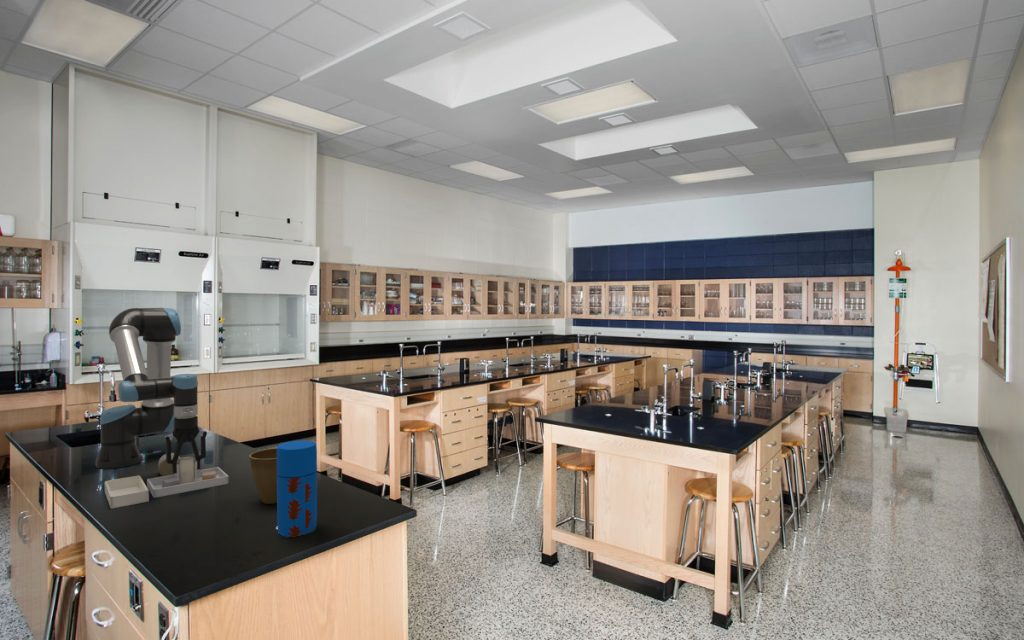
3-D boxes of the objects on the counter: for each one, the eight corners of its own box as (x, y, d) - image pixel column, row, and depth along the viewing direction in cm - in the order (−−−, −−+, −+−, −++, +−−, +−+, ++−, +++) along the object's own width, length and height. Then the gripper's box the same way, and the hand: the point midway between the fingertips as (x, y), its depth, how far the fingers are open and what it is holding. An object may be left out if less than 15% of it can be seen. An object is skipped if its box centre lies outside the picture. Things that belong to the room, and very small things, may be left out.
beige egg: (177, 482, 201) (177, 458, 201) (192, 479, 204) (192, 455, 204) (180, 486, 197) (179, 461, 197) (195, 483, 200) (195, 458, 200)
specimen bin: (104, 492, 191) (104, 481, 191) (139, 486, 198) (139, 475, 198) (110, 509, 175) (110, 497, 175) (148, 502, 182) (148, 490, 182)
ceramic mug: (157, 479, 206) (157, 458, 206) (158, 473, 213) (158, 453, 213) (189, 475, 211) (190, 455, 211) (190, 469, 219) (190, 450, 218)
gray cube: (162, 491, 191) (162, 480, 191) (174, 488, 194) (174, 477, 194) (167, 494, 189) (167, 482, 189) (179, 491, 192) (179, 479, 192)
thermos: (284, 523, 165) (284, 440, 164) (321, 522, 166) (320, 440, 165) (271, 538, 154) (271, 450, 153) (310, 537, 155) (310, 449, 154)
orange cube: (204, 483, 201) (203, 472, 200) (216, 482, 202) (216, 471, 202) (202, 486, 197) (202, 475, 197) (214, 485, 198) (214, 474, 198)
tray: (146, 487, 197) (146, 479, 197) (218, 474, 212) (218, 466, 212) (153, 498, 185) (153, 489, 185) (228, 484, 200) (228, 476, 200)
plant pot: (305, 500, 185) (305, 452, 184) (260, 511, 174) (259, 461, 174) (287, 489, 195) (286, 444, 195) (243, 499, 184) (242, 452, 184)
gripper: (158, 421, 191) (159, 487, 192) (215, 415, 203) (216, 477, 204) (155, 418, 197) (155, 482, 198) (210, 412, 209) (211, 472, 209)
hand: (186, 479), depth 201 cm, fingers closed on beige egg, 5 cm apart
